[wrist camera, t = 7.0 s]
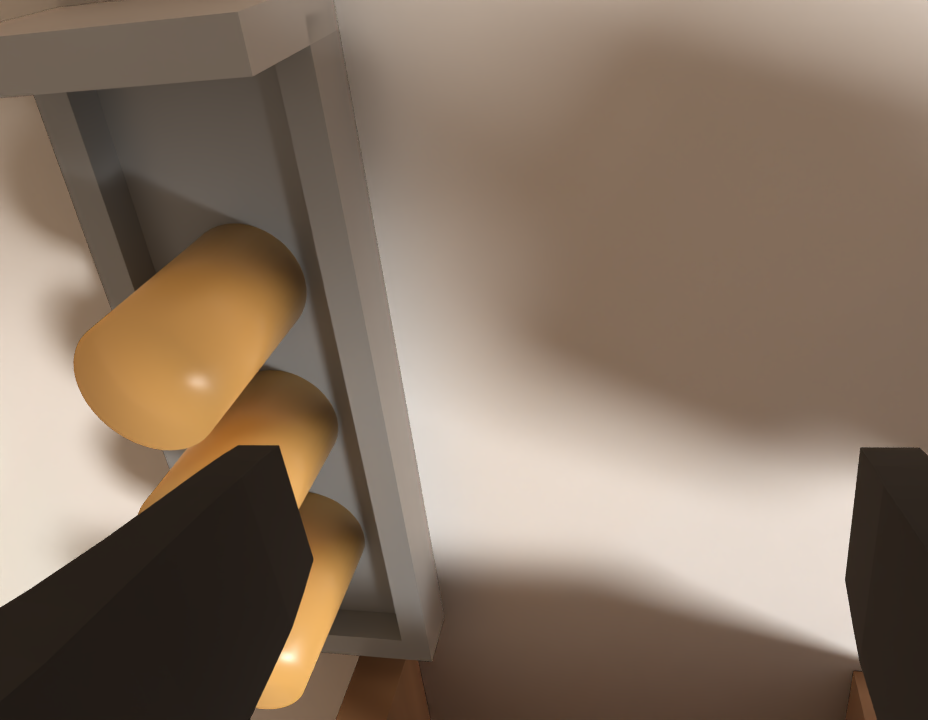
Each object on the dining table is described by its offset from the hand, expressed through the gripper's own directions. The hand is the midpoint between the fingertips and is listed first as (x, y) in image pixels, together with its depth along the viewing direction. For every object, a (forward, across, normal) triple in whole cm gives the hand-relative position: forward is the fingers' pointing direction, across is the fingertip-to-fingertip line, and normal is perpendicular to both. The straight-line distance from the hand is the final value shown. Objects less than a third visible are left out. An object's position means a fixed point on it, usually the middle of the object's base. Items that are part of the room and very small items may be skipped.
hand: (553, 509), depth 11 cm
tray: (+10, +8, +4) cm, 13 cm away
